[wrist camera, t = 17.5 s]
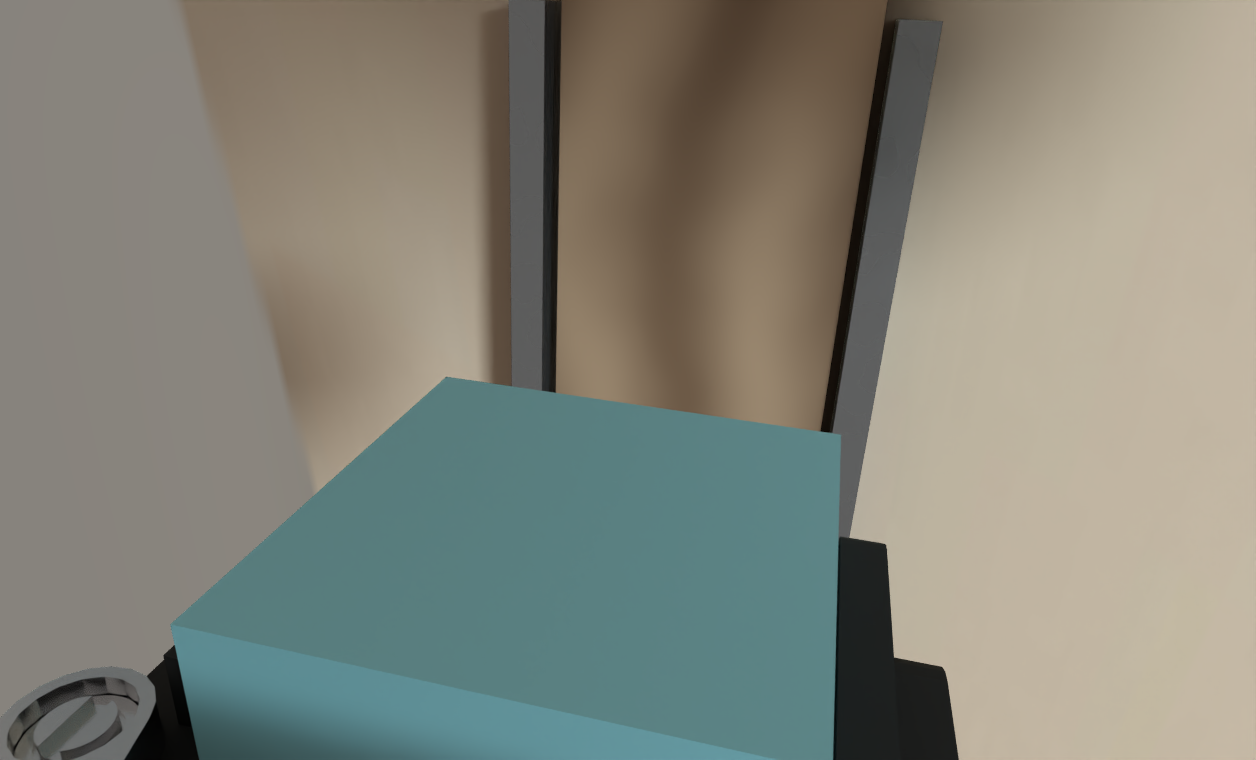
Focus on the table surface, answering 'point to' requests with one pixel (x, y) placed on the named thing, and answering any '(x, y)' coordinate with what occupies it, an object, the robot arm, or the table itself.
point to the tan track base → (709, 199)
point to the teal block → (535, 593)
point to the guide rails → (879, 245)
